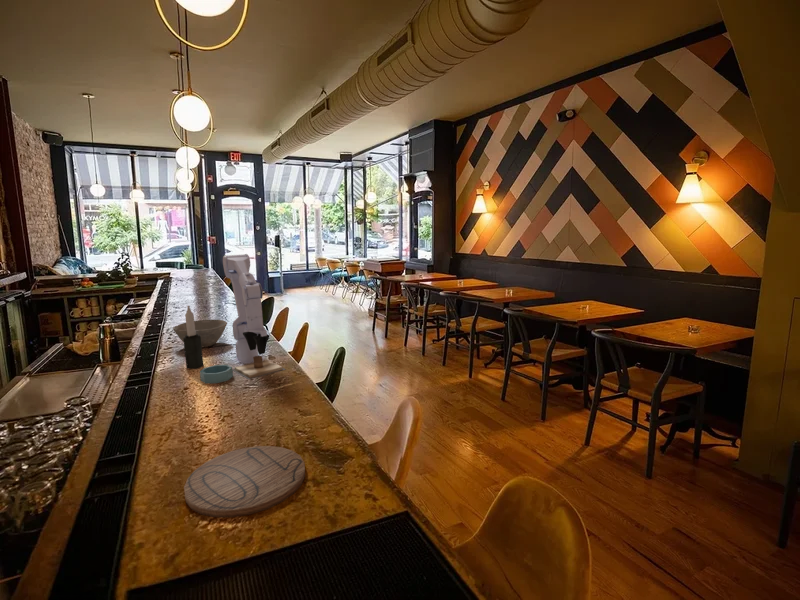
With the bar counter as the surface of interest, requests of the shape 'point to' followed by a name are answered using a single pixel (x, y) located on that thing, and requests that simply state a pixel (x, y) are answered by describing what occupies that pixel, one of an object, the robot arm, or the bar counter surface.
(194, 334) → the candle
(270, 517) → the bar counter surface
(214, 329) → the ceramic bowl
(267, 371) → the lid
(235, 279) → the robot arm
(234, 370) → the tray
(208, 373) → the dish
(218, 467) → the trivet
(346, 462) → the bar counter surface
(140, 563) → the bar counter surface
